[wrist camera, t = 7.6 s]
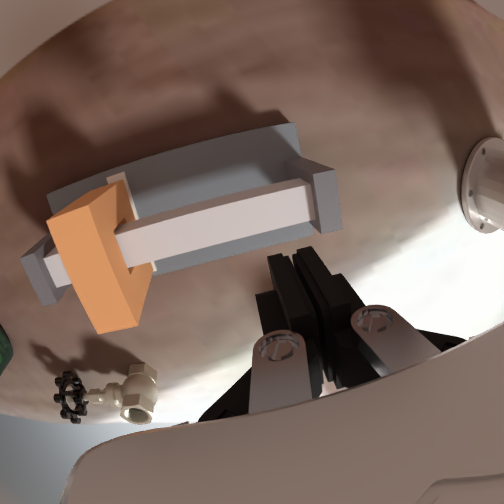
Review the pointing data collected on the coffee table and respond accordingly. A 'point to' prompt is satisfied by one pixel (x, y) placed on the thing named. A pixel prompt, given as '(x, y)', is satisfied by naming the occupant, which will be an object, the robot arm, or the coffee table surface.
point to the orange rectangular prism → (101, 257)
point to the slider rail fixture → (204, 204)
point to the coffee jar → (4, 351)
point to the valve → (112, 395)
